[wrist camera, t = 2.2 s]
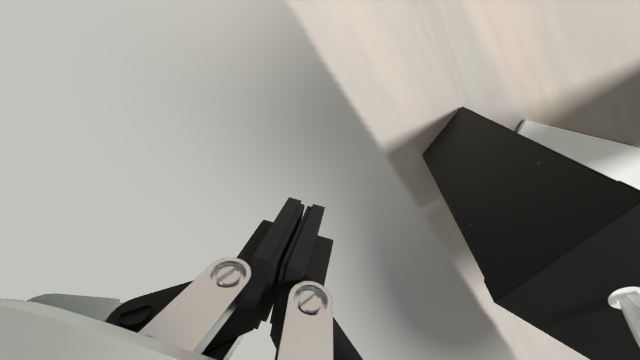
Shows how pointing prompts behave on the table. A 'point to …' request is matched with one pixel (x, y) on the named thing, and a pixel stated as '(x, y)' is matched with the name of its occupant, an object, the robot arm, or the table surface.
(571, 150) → the white mat
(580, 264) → the black rectangular box
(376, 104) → the table surface
